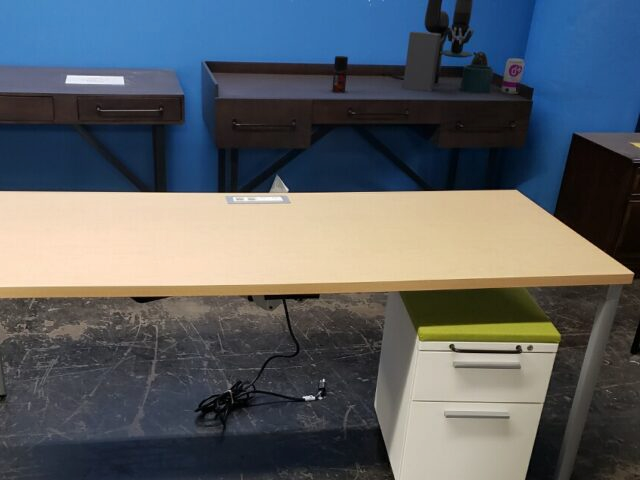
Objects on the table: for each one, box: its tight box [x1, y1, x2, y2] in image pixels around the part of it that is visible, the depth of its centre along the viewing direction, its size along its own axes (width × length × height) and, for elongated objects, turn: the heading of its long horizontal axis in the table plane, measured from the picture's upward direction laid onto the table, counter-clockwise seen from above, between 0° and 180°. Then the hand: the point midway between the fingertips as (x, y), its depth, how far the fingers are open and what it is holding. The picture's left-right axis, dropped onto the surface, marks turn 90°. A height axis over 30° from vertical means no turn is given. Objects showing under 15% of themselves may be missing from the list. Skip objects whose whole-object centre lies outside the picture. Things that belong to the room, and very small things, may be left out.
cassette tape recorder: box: [402, 30, 441, 92], centre depth 368 cm, size 14×6×25 cm, turn 62°
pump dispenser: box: [469, 51, 489, 66], centre depth 389 cm, size 10×10×15 cm
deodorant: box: [331, 55, 349, 94], centre depth 359 cm, size 6×6×15 cm
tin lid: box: [440, 39, 473, 58], centre depth 356 cm, size 15×15×7 cm
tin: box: [460, 64, 495, 94], centre depth 372 cm, size 14×14×11 cm
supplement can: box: [500, 57, 525, 95], centre depth 371 cm, size 8×8×15 cm
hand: (456, 52), depth 357 cm, fingers closed on tin lid, 2 cm apart
